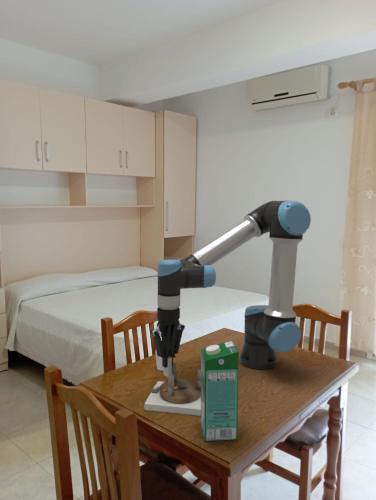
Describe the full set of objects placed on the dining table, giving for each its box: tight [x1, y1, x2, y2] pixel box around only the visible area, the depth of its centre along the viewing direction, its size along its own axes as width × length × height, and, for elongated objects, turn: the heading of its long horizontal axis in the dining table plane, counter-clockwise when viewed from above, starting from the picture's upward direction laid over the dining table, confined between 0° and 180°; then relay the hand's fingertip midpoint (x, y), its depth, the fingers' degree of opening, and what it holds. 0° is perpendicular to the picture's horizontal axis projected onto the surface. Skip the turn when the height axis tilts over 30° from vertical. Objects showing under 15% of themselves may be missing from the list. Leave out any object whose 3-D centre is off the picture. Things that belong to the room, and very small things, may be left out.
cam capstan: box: [160, 361, 201, 403], centre depth 131 cm, size 14×14×8 cm
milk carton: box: [200, 340, 240, 442], centre depth 112 cm, size 9×9×25 cm
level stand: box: [143, 380, 201, 417], centre depth 130 cm, size 20×16×4 cm
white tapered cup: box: [154, 349, 164, 372], centre depth 156 cm, size 7×7×7 cm
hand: (167, 375), depth 134 cm, fingers closed
